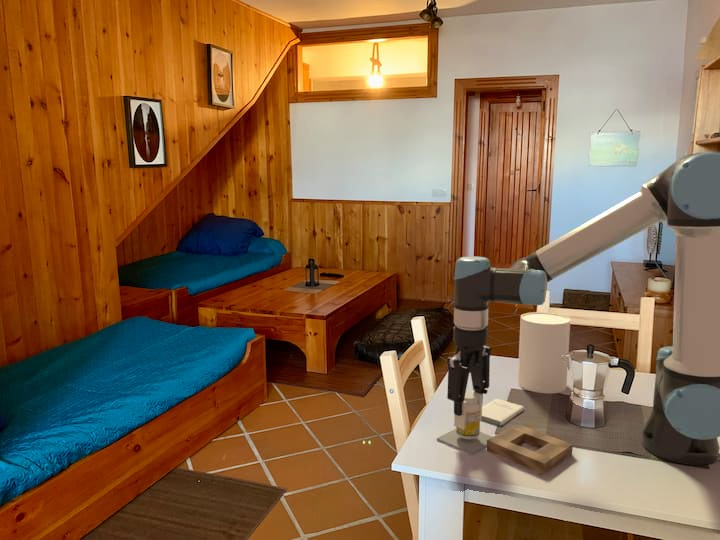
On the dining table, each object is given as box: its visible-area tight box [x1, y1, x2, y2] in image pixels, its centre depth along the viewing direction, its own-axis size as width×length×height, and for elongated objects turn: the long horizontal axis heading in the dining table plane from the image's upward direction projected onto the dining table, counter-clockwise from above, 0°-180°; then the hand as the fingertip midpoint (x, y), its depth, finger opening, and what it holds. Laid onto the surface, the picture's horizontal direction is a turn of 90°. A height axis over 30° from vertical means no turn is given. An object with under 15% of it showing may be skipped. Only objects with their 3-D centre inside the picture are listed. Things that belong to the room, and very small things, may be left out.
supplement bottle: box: [455, 391, 481, 439], centre depth 130 cm, size 5×5×10 cm
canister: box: [517, 311, 571, 394], centre depth 163 cm, size 14×14×20 cm
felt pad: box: [436, 428, 493, 456], centre depth 131 cm, size 10×10×1 cm
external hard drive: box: [482, 398, 525, 427], centre depth 145 cm, size 2×8×12 cm
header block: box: [486, 423, 574, 475], centre depth 125 cm, size 14×12×2 cm
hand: (468, 423), depth 130 cm, fingers closed on supplement bottle, 5 cm apart
